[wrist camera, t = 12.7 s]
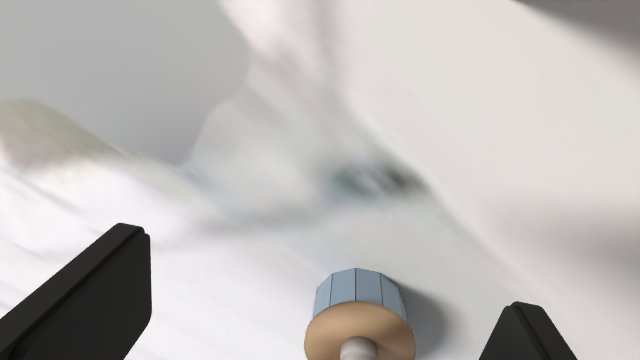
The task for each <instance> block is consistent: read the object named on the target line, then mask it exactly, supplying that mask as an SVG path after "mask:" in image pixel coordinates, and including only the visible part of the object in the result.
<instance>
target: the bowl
mask: <svg viewBox="0 0 640 360" xmlns="http://www.w3.org/2000/svg"><path fill="white" fill-rule="evenodd" d="M347 301H367V302H372V303H376V304H380V305H383V306H385V307H387V308H389V309H391V310H393V311H395V312H396V313H397V314H399V315H400V316H401V317H402V318H403V319H404V320H405V321H406V322H407V318H406V313H405V307H404V303H403V300H402V297H401V294H400V292H399V289H398V287H397V286H396V285H395V284H394V283H392V282H391V281H390V280H389V279H387V278H386V277H385V276H383V275H382V274H381V273H380V274H379V273H378V272H373V271H368V270H363V269H358V268H356V269H355V268H354V269H350V270H346V271H341V272H337V273H333V274H332V275H331V276H329V277H328V278H327V279H326V280H325V281H324V282H323V283H322V284H321V285H320V286H318V287H317V291H316V295H315V300H314V305H313V311H312V318H311V320H312V319H313V318H314V317H315V316H316V315H317V314H318V313H319V312H321V311H322V310H324V309H325V308H327V307H329V306H332V305H335V304H337V303H342V302H347Z"/></svg>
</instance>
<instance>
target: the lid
mask: <svg viewBox="0 0 640 360" xmlns="http://www.w3.org/2000/svg"><path fill="white" fill-rule="evenodd" d="M304 349H305V354H306V357H307V359H308V360H414V358H415V353H416V346H415V341H414V336H413V333H412V330H411V328H410V327H409V325H408V324H407V322H406V321H405V320H404V319H403V318H402V317H401V316H400V315H399V314H397V313H396V312H395V311H393V310H391V309H389V308H387V307H385V306H383V305H380V304H376V303H372V302H367V301H347V302H342V303H337V304H335V305H332V306H329V307H327V308H325V309H324V310H322V311H321V312H319V313H318V314H317V315H316V316H315V317H314V318H313V319H312V320H311V322H310V324H309V325H308V328H307V330H306V335H305V340H304Z"/></svg>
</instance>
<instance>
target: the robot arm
mask: <svg viewBox="0 0 640 360" xmlns="http://www.w3.org/2000/svg"><path fill="white" fill-rule="evenodd" d="M151 314H152V300H151V257H150V236H149V235H148V234H146V233H145V231H144V229H143V228H142V227H140V226H134V225H129V224H124V223H118V224H116V225H114V226H113V227H112V228H111V229H109V230H108V231H107V232H106V233H105V234H103V235H102V236H101V237H100V238H99V239H97V240H96V241H95V242H94V243H92V244H91V245H90V246H89V247H88V248H86V249H85V250H84V251H83V252H81V253H80V254H79V255H78V256H77V257H75V258H74V259H73V260H72V261H70V262H69V263H68V264H67V265H66V266H64V267H63V268H62V269H61V270H59V271H58V272H57V273H56V274H55V275H53V276H52V277H51V278H50V279H48V280H47V281H46V282H45V283H44V284H42V285H41V286H40V287H39V288H37V289H36V290H35V291H34V292H33V293H31V294H30V295H29V296H28V297H26V298H25V299H24V300H23V301H22V302H20V303H19V304H18V305H17V306H16V307H14V308H13V309H12V310H11V311H9V312H8V313H7V314H6V315H5V316H3V317H2V318H1V319H0V360H124V358H125V357H126V355H127V354H128V352H129V351H130V350H131V348H132V347H133V345H134V344H135V342H136V341H137V340H138V338H139V337H140V335H141V334H142V332H143V331H144V330H145V328H146V327H147V325H148V323H149V321H150V318H151ZM479 360H577V358H576V357H575V355H574V354H573V352H572V351H571V349H570V348H569V346H568V345H567V343H566V342H565V340H564V339H563V337H562V336H561V334H560V333H559V331H558V330H557V328H556V327H555V325H554V324H553V322H552V321H551V319H550V318H549V316H548V315H547V313H546V312H545V311H544V309H543V308H542V307H540V306H538V305H533V304H528V303H523V302H518V301H517V302H514V303H512V304H511V306H506V307H505V308H504V309H503V311H502V313H501V315H500V317H499V319H498V321H497V324H496V326H495V328H494V330H493V332H492V334H491V336H490V338H489V340H488V342H487V344H486V346H485V348H484V350H483V352H482V354H481V356H480V358H479Z"/></svg>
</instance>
